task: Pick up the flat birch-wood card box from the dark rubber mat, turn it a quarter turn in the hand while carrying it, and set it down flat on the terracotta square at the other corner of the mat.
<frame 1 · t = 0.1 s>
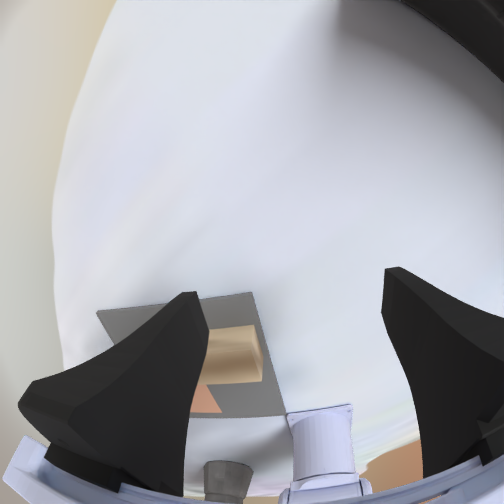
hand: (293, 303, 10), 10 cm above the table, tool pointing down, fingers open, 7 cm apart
black tray: (502, 69, 12), on the table
mat: (196, 372, 27), on the table
coffeepot: (233, 469, 40), on the table
card box: (221, 345, 24), resting on mat
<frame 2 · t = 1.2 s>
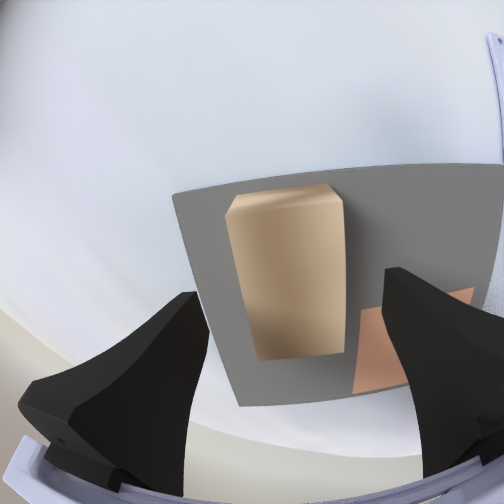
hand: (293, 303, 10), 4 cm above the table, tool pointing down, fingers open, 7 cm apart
mat: (367, 310, 15), on the table
card box: (291, 260, 13), resting on mat
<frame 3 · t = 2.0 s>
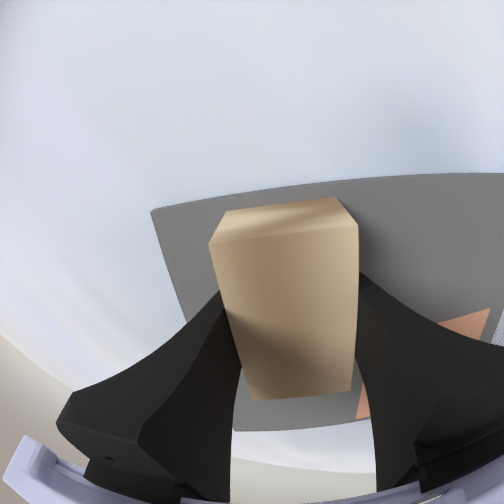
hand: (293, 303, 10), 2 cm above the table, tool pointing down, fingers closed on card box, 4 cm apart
mat: (375, 337, 13), on the table
card box: (291, 286, 11), resting on mat, touching gripper
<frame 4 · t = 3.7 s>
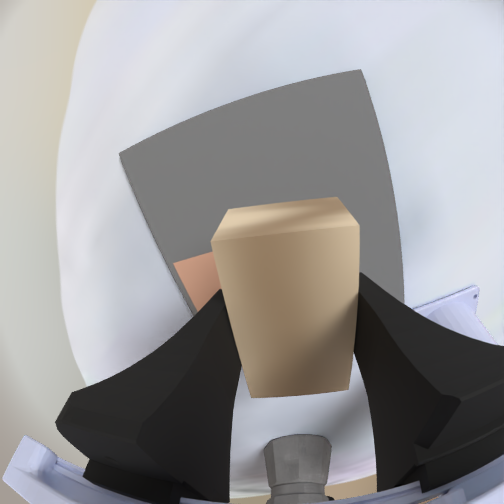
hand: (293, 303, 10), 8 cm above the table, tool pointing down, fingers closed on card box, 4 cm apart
mat: (279, 237, 18), on the table
coffeepot: (303, 447, 31), on the table
card box: (292, 285, 11), point 7 cm above the table, touching gripper
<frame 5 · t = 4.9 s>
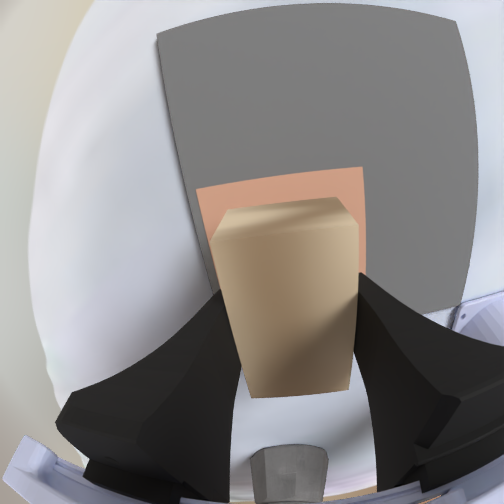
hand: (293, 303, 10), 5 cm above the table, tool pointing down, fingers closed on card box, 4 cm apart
mat: (351, 176, 13), on the table
coffeepot: (295, 458, 26), on the table
card box: (291, 285, 11), point 4 cm above the table, touching gripper
when the fingers open (3 cm above the table, at t = 5.6 s): card box drops 1 cm, resting on mat.
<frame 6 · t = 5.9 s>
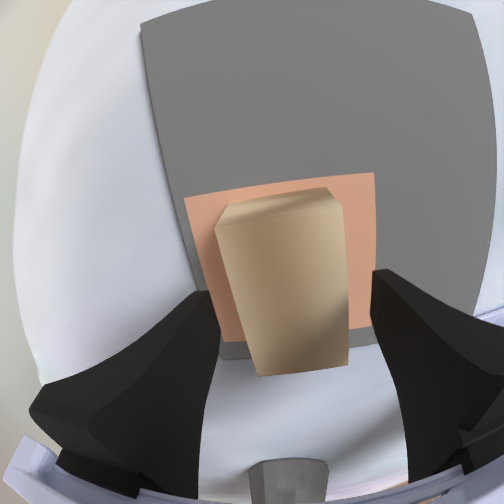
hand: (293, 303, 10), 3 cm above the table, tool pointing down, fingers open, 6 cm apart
mat: (360, 183, 11), on the table
coffeepot: (295, 470, 25), on the table
card box: (290, 269, 13), resting on mat
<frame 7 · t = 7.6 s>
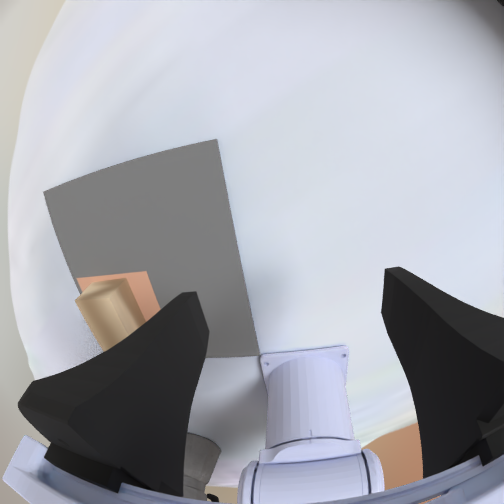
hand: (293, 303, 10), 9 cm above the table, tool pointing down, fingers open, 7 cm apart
mat: (145, 274, 22), on the table
coffeepot: (197, 445, 35), on the table
card box: (123, 313, 23), resting on mat
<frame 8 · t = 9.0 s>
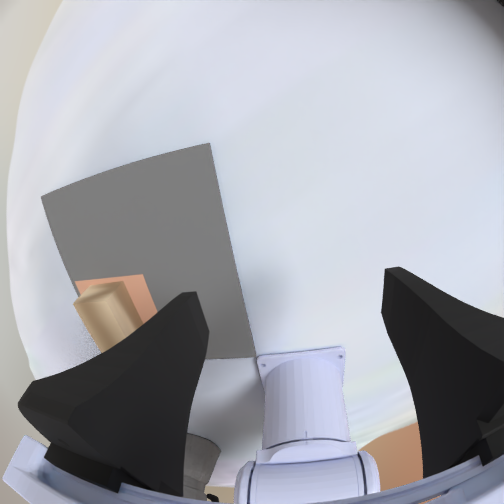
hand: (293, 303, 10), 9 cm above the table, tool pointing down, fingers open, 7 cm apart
mat: (141, 277, 22), on the table
coffeepot: (197, 446, 35), on the table
card box: (121, 315, 23), resting on mat
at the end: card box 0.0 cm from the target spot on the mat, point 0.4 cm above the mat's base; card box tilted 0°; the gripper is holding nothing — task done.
